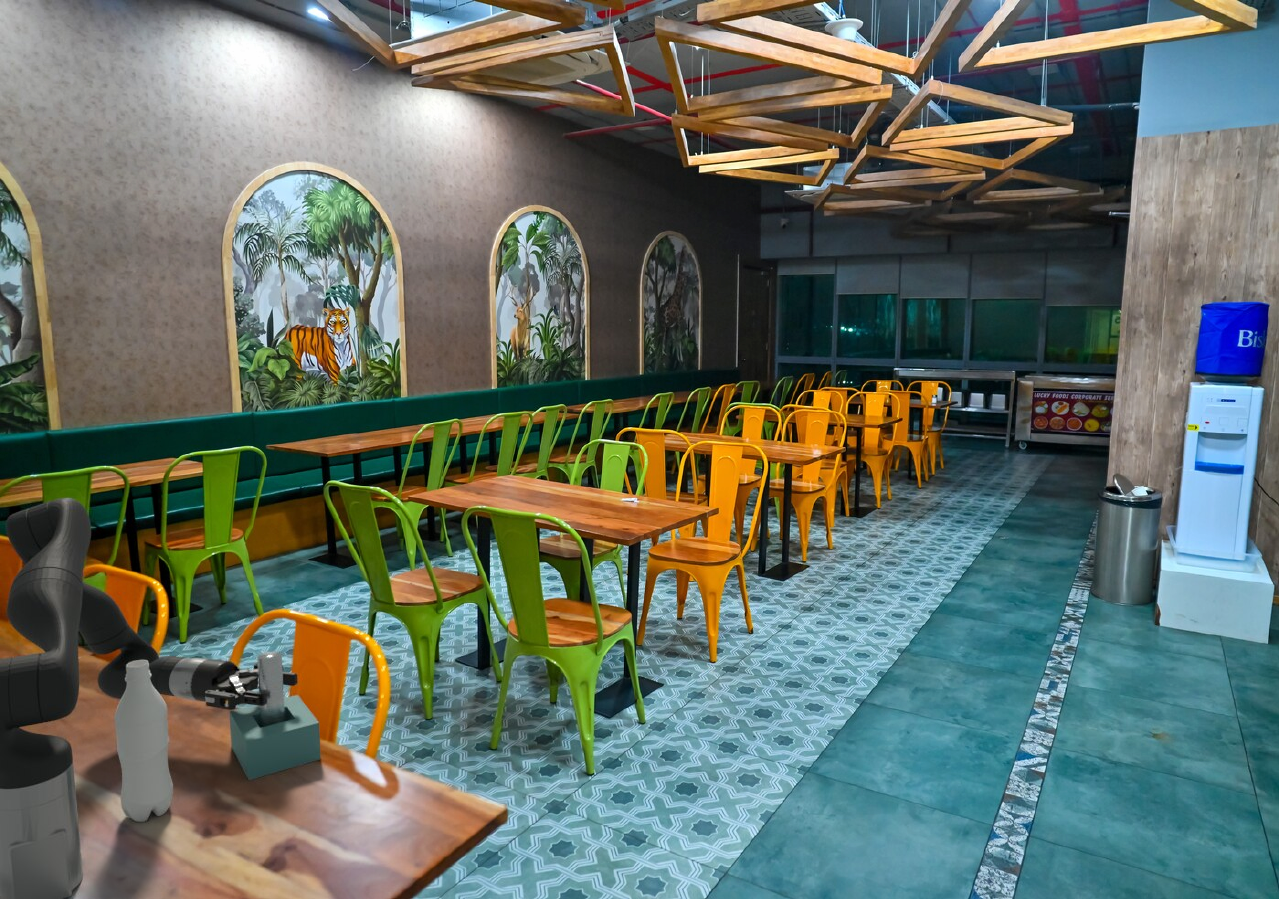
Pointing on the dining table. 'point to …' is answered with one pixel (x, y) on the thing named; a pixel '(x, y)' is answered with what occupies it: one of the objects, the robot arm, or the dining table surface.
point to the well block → (274, 739)
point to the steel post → (271, 688)
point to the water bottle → (143, 745)
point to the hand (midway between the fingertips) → (281, 689)
